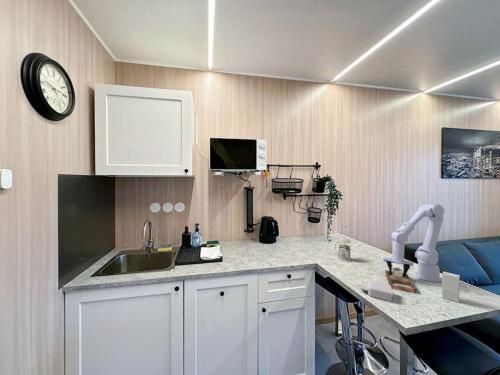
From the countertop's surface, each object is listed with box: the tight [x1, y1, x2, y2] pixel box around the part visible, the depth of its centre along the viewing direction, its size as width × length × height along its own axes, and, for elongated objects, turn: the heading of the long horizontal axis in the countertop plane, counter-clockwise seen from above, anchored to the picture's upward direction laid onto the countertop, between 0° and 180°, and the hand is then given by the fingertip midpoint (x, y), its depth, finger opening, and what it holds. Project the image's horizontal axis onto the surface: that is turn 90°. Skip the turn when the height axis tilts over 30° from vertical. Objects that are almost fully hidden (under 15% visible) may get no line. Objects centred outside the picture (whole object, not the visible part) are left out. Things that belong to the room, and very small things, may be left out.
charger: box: [356, 280, 393, 302], centre depth 106 cm, size 5×9×15 cm
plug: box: [391, 267, 403, 278], centre depth 124 cm, size 4×5×6 cm
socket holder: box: [384, 269, 417, 294], centre depth 119 cm, size 11×21×2 cm, turn 154°
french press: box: [334, 224, 353, 263], centre depth 153 cm, size 10×12×25 cm
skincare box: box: [441, 271, 461, 303], centre depth 102 cm, size 6×4×12 cm
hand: (397, 275), depth 124 cm, fingers open, 6 cm apart
